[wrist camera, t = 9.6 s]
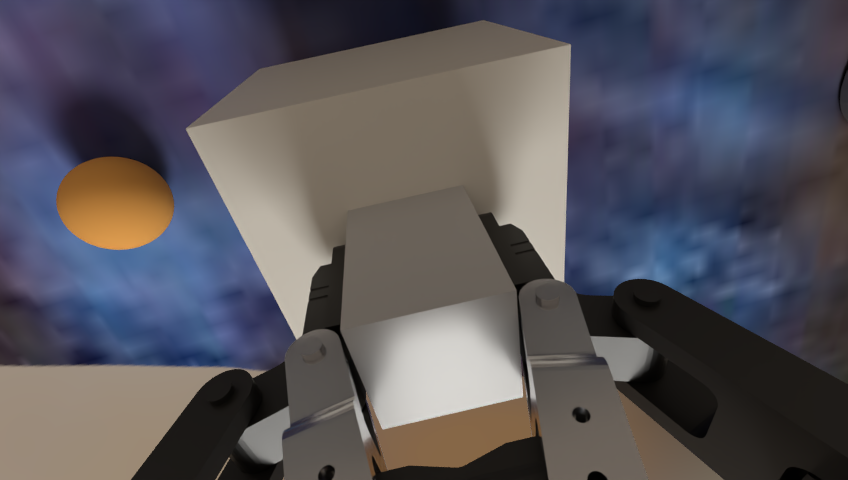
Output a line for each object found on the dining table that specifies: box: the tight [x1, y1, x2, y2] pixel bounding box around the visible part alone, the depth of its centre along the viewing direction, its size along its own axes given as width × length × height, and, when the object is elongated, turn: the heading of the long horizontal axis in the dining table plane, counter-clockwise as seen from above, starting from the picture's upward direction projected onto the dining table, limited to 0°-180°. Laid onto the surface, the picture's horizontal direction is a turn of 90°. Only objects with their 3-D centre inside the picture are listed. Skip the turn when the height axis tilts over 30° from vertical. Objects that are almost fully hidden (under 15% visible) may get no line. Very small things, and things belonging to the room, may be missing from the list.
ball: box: [56, 157, 174, 250], centre depth 21 cm, size 5×5×5 cm
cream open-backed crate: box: [186, 20, 571, 429], centre depth 15 cm, size 10×10×14 cm
